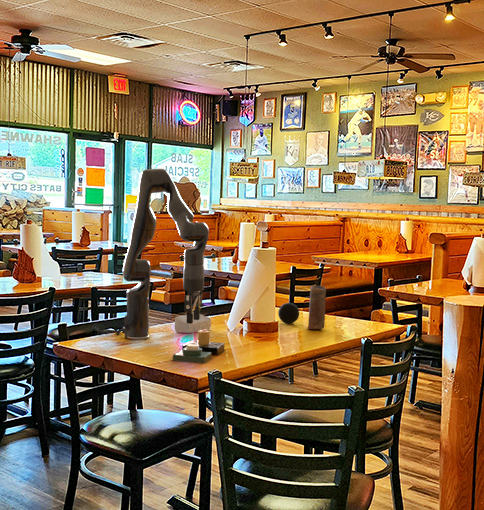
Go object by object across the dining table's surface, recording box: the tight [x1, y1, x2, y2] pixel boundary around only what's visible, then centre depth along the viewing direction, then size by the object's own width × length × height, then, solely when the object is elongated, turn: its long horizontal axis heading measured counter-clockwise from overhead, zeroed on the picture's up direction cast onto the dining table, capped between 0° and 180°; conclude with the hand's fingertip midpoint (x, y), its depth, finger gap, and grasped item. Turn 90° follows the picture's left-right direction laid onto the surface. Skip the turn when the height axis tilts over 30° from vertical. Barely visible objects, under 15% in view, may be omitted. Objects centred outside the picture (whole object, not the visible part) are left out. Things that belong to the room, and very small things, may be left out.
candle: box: [307, 285, 327, 331], centre depth 320 cm, size 8×7×20 cm
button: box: [187, 344, 198, 350], centre depth 256 cm, size 4×4×2 cm
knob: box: [197, 330, 211, 345], centre depth 269 cm, size 4×4×5 cm
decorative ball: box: [277, 302, 300, 325], centre depth 335 cm, size 10×10×10 cm
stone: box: [174, 311, 212, 334], centre depth 312 cm, size 11×17×10 cm, turn 137°
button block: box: [172, 347, 213, 364], centre depth 256 cm, size 12×9×4 cm
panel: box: [181, 340, 226, 357], centre depth 269 cm, size 14×10×3 cm
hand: (193, 321), depth 255 cm, fingers open, 7 cm apart
